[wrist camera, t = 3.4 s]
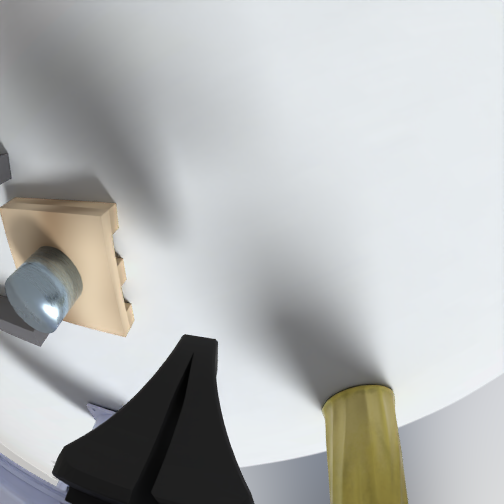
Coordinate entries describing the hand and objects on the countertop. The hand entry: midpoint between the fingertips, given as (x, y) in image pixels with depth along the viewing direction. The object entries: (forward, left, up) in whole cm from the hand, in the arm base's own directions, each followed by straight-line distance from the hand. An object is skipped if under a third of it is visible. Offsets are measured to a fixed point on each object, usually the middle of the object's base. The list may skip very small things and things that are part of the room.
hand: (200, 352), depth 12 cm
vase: (-11, +11, -5) cm, 17 cm away
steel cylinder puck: (+10, 0, -3) cm, 10 cm away
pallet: (+10, 0, -5) cm, 11 cm away
